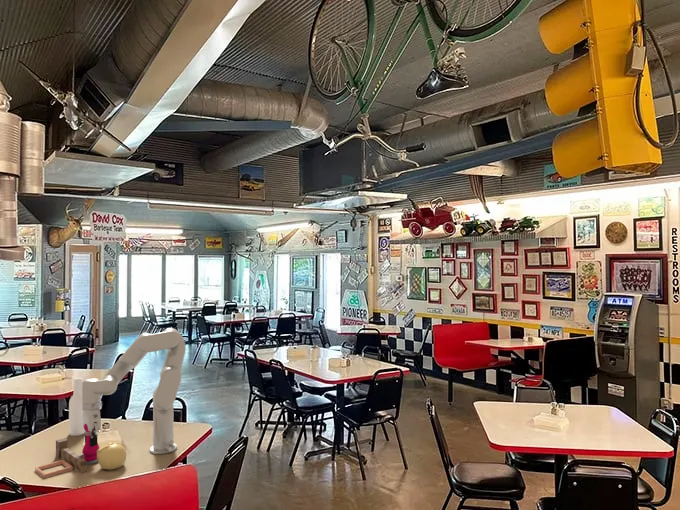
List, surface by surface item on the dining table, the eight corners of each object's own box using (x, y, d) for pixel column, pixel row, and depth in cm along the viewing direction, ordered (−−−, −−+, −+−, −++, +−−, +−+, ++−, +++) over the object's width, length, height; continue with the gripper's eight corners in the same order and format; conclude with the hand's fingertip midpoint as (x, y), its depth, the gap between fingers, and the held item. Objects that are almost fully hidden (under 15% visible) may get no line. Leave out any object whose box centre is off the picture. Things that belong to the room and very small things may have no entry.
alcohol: (69, 432, 274) (69, 377, 274) (87, 429, 277) (87, 375, 278) (68, 437, 266) (68, 380, 266) (86, 434, 269) (86, 379, 270)
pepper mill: (80, 463, 231) (80, 420, 231) (84, 457, 238) (84, 415, 238) (97, 461, 233) (97, 418, 233) (100, 455, 240) (100, 414, 240)
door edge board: (88, 470, 223) (88, 452, 223) (78, 473, 220) (78, 455, 220) (64, 454, 242) (64, 438, 242) (55, 457, 239) (55, 440, 239)
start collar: (108, 459, 236) (108, 456, 236) (83, 466, 227) (83, 463, 227) (98, 452, 243) (98, 449, 243) (73, 460, 235) (73, 456, 235)
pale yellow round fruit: (118, 459, 235) (118, 436, 235) (131, 466, 227) (131, 442, 227) (93, 467, 226) (93, 443, 226) (106, 474, 219) (106, 450, 219)
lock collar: (72, 469, 224) (72, 466, 224) (44, 478, 215) (44, 474, 215) (63, 462, 232) (63, 459, 232) (35, 470, 223) (35, 467, 223)
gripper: (106, 407, 233) (106, 446, 232) (91, 400, 244) (91, 437, 244) (90, 410, 227) (90, 451, 227) (75, 403, 238) (75, 442, 238)
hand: (91, 443), depth 235 cm, fingers closed on pepper mill, 5 cm apart
